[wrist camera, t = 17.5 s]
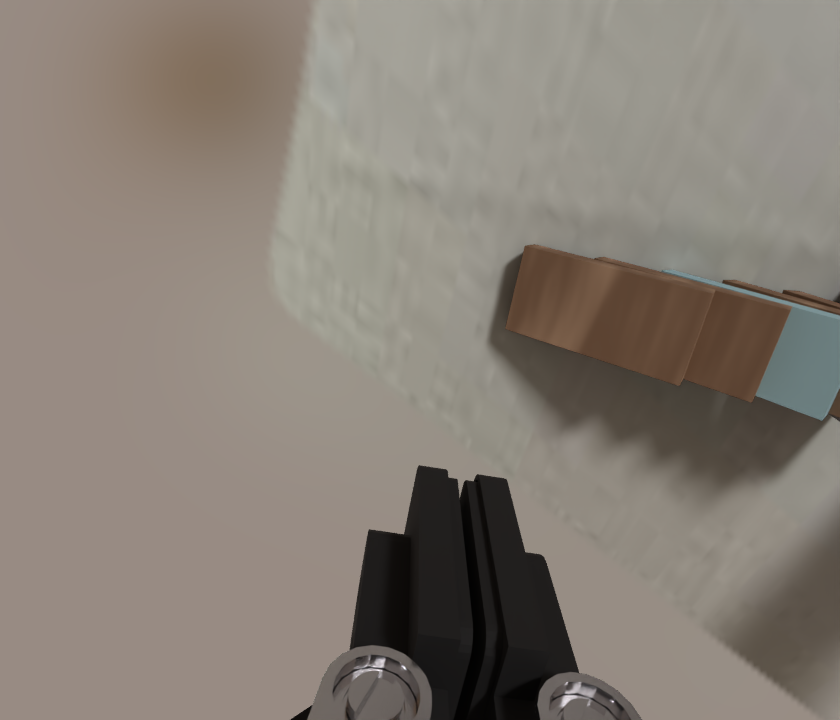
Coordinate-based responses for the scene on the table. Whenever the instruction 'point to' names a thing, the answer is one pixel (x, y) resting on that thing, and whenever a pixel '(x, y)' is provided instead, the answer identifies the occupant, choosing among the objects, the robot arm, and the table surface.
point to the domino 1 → (609, 312)
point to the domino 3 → (799, 357)
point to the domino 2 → (731, 338)
